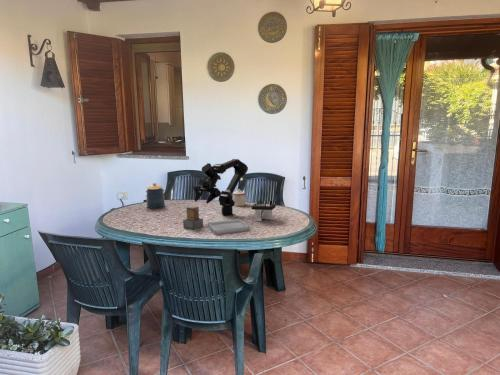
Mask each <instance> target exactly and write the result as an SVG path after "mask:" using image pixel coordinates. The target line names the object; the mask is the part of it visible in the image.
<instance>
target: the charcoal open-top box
mask: <svg viewBox="0 0 500 375" xmlns="http://www.w3.org/2000/svg"><path fill="white" fill-rule="evenodd" d="M182 223H183V224H182V227H183V228H184V229H191V230H196V229H198V228H202V227H204V219H203V218H202V217H199V220H196V221H188V220H187V218H185V219H183V220H182Z"/></svg>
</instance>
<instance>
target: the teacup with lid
mask: <svg viewBox="0 0 500 375" xmlns="http://www.w3.org/2000/svg"><path fill="white" fill-rule="evenodd" d="M232 195H233V201H234V202H235V204H234V206H235V207H243V206H245V205H246V193H245V191H243V190H241V189H240V188H238V189H237V190H235V191H234V192H233V194H232ZM234 206H233V207H234Z"/></svg>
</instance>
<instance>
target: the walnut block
mask: <svg viewBox="0 0 500 375" xmlns="http://www.w3.org/2000/svg"><path fill="white" fill-rule="evenodd" d="M199 218H200V210H199V206H197V205H189V206H187V207H186V219H187V220H188V221H196V220H199Z"/></svg>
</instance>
